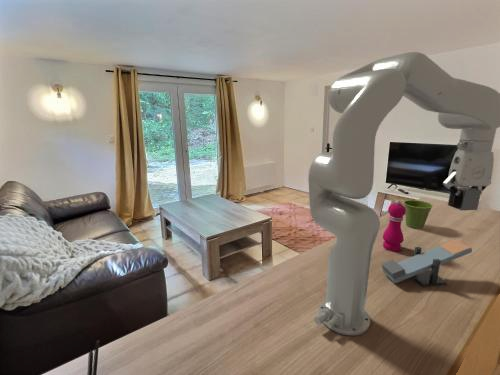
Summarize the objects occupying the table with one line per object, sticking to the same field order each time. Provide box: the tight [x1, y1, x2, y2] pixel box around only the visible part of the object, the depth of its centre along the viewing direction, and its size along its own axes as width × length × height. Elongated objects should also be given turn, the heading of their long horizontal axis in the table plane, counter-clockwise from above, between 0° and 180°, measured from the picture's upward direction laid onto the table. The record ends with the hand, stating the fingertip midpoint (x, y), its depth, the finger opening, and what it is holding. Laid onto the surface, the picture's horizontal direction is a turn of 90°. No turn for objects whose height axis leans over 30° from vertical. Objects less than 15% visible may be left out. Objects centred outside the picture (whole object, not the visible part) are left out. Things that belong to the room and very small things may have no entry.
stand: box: [410, 246, 448, 288], centre depth 85 cm, size 8×10×8 cm
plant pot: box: [403, 199, 434, 230], centre depth 124 cm, size 12×12×11 cm
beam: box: [381, 239, 473, 284], centre depth 84 cm, size 26×6×4 cm, turn 96°
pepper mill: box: [382, 199, 406, 252], centre depth 103 cm, size 7×7×20 cm
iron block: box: [447, 186, 482, 211], centre depth 80 cm, size 5×5×6 cm
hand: (462, 205), depth 81 cm, fingers closed on iron block, 5 cm apart
